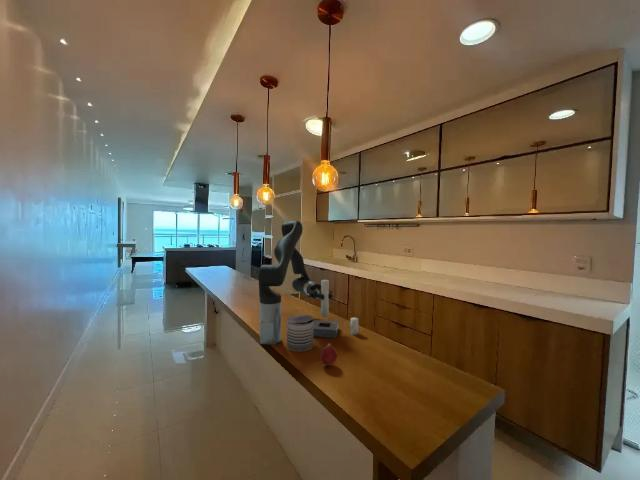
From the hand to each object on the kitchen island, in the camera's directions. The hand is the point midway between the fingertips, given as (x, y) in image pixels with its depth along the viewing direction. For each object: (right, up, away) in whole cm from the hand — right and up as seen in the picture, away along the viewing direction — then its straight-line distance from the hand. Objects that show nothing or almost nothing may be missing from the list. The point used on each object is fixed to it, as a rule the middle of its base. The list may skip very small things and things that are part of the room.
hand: (327, 297), depth 129 cm
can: (-12, -18, -12) cm, 25 cm away
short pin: (+13, -17, +2) cm, 22 cm away
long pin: (-1, -10, +3) cm, 10 cm away
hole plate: (-1, -17, +3) cm, 18 cm away
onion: (0, -19, -29) cm, 35 cm away
